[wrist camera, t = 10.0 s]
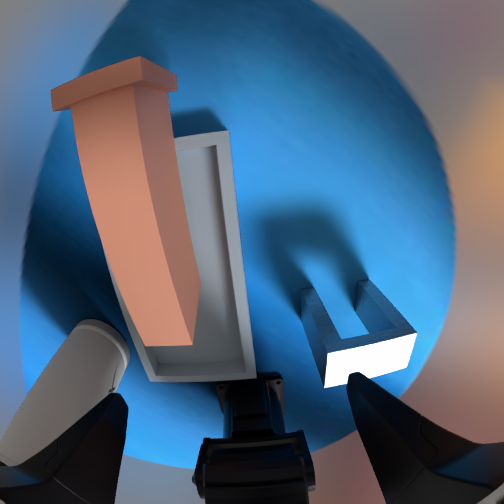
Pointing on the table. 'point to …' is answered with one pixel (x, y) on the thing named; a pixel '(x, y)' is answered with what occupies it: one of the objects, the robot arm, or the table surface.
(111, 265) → the pink curved block
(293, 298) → the table surface
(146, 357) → the tray
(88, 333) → the travel mug
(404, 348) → the bracket
